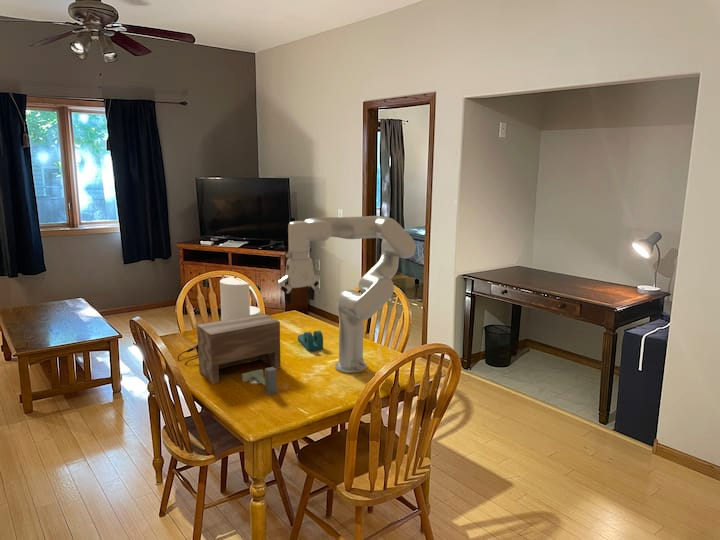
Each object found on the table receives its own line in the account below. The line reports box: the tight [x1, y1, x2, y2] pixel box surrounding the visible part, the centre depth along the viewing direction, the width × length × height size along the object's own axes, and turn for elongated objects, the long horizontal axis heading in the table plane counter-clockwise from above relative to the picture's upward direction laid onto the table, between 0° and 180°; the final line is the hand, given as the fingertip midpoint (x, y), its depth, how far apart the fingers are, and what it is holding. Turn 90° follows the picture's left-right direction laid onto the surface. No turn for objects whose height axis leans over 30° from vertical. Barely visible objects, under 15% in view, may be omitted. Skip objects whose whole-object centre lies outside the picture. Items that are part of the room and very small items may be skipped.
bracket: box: [297, 330, 324, 353], centre depth 241 cm, size 18×7×8 cm, turn 24°
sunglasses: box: [177, 344, 199, 365], centre depth 222 cm, size 10×12×5 cm
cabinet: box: [196, 312, 282, 385], centre depth 210 cm, size 14×28×19 cm, turn 126°
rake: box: [241, 366, 278, 396], centre depth 197 cm, size 17×8×9 cm, turn 36°
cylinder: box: [219, 276, 261, 321], centre depth 243 cm, size 17×17×28 cm
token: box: [249, 377, 262, 385], centre depth 201 cm, size 5×5×1 cm
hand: (299, 301), depth 198 cm, fingers open, 9 cm apart
